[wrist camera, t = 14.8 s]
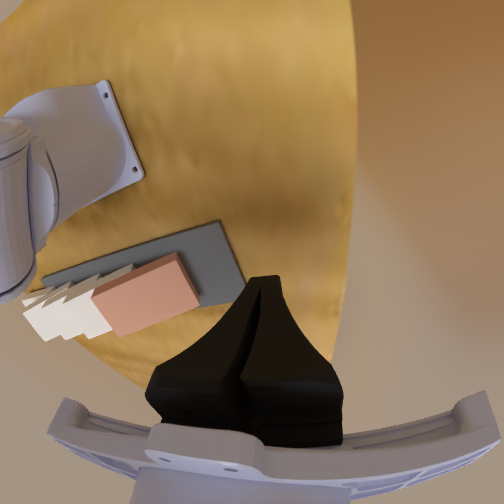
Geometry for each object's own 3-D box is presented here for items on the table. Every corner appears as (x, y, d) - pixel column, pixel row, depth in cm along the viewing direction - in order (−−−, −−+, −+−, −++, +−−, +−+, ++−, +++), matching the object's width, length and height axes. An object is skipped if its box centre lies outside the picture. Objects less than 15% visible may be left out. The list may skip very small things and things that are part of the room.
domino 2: (71, 280, 28) (27, 305, 27) (67, 287, 26) (22, 313, 25) (93, 312, 30) (48, 333, 29) (90, 320, 29) (45, 341, 28)
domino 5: (175, 251, 24) (94, 288, 23) (175, 260, 22) (90, 298, 22) (198, 295, 26) (121, 326, 26) (200, 305, 25) (119, 337, 24)
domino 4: (132, 262, 25) (66, 295, 25) (130, 271, 24) (61, 304, 23) (156, 302, 28) (92, 329, 27) (155, 312, 26) (88, 339, 25)
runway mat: (42, 277, 29) (40, 279, 29) (219, 220, 22) (218, 222, 22) (73, 322, 33) (72, 324, 33) (251, 295, 26) (250, 298, 26)
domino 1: (54, 285, 29) (27, 293, 31) (46, 294, 27) (21, 300, 30) (74, 315, 31) (45, 318, 34) (68, 324, 30) (39, 326, 32)
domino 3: (99, 272, 27) (46, 300, 26) (95, 280, 25) (40, 308, 24) (122, 308, 29) (69, 331, 28) (120, 317, 27) (65, 340, 27)
